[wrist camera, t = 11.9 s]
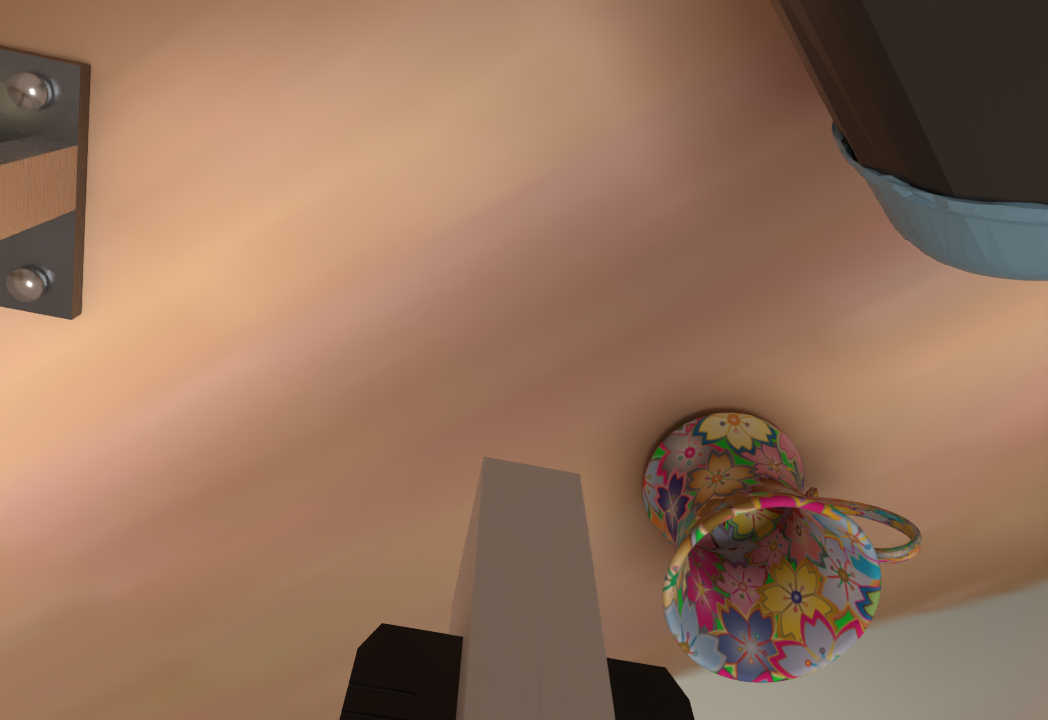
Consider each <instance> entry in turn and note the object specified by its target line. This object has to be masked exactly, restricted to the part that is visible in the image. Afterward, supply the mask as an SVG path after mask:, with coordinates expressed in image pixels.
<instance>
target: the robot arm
mask: <svg viewBox="0 0 1048 720" xmlns="http://www.w3.org/2000/svg"><path fill="white" fill-rule="evenodd" d="M770 1H771V3H772V5H773V7H774V9H775V11H776V13H777V15H778V17H779V18H780V20H781V22H782V24H783V26H784V28H785V30H786V32H787V34H788V35H789V37H790V39H791V41H792V43H793V45H794V47H795V49H796V51H797V53H798V54H799V56H800V58H801V60H802V62H803V64H804V66H805V68H806V70H807V71H808V73H809V75H810V77H811V79H812V81H813V83H814V85H815V87H816V89H817V90H818V92H819V94H820V96H821V98H822V100H823V102H824V104H825V106H826V107H827V109H828V111H829V113H830V115H831V117H832V119H833V124H832V132H833V136H834V138H835V140H836V143H837V145H838V147H839V149H840V151H841V153H842V155H843V156H844V158H845V159H846V160H847V161H848V163H849V164H850V165H852V166H853V167H854V168H855V169H856V170H857V171H858V173H859V174H860V175H861V176H863V177H864V178H865V179H866V181H867V183H868V184H869V186H870V188H871V189H872V191H873V193H874V195H875V196H876V198H877V200H878V201H879V203H880V205H881V206H882V208H883V210H884V212H885V213H886V215H887V217H888V218H889V220H890V222H891V223H892V225H893V226H894V228H895V229H896V230H897V231H898V232H899V233H900V234H901V235H902V236H903V237H904V239H906V240H908V241H910V242H911V243H912V244H913V245H914V246H916V247H917V248H918V249H919V250H921V251H922V252H923V253H924V254H925V255H927V256H930V257H932V258H933V259H935V260H936V261H938V262H940V263H943V264H945V265H948V266H951V267H954V268H957V269H960V270H963V271H966V272H970V273H974V274H978V275H983V276H989V277H995V278H1003V279H1013V280H1028V281H1048V0H770ZM339 720H694V716H693V712H692V708H691V705H690V701H689V699H688V698H687V696H686V695H685V693H684V692H683V691H682V689H681V688H680V687H679V685H678V684H677V682H676V681H675V680H674V678H673V677H672V676H671V674H670V673H669V672H668V670H667V669H666V668H665V667H659V666H653V665H647V664H641V663H635V662H629V661H623V660H617V659H611V658H606V651H605V644H604V637H603V631H602V624H601V617H600V610H599V603H598V596H597V589H596V582H595V575H594V568H593V561H592V554H591V548H590V541H589V534H588V527H587V520H586V513H585V506H584V499H583V492H582V485H581V478H580V474H576V473H571V472H565V471H560V470H554V469H549V468H543V467H538V466H532V465H527V464H521V463H516V462H510V461H505V460H500V459H494V458H489V457H484V458H483V462H482V467H481V472H480V476H479V481H478V486H477V490H476V495H475V500H474V504H473V509H472V514H471V518H470V523H469V528H468V532H467V537H466V542H465V546H464V551H463V556H462V560H461V565H460V570H459V574H458V579H457V584H456V589H455V593H454V598H453V603H452V609H451V618H450V627H449V634H444V633H438V632H432V631H426V630H420V629H414V628H408V627H402V626H396V625H390V624H384V623H382V624H381V625H380V626H379V627H378V628H377V629H376V630H375V631H374V632H373V633H372V634H371V635H370V636H369V637H368V638H367V639H366V640H365V641H364V642H363V643H362V645H361V646H360V647H359V648H358V649H357V653H356V657H355V661H354V665H353V669H352V673H351V676H350V680H349V685H348V688H347V692H346V696H345V700H344V704H343V708H342V712H341V716H340V719H339Z"/></svg>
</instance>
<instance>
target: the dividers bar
mask: <svg viewBox="0 0 1048 720" xmlns="http://www.w3.org/2000/svg"><path fill="white" fill-rule="evenodd" d="M77 150H78V145H74V144H69V143H64V142H59V141H54V140H50V139H45V138H40V137H35V136H31V137H26V138H21V139H17V140H12V141H8V142H3V143H0V240H2V239H4V238H7V237H9V236H12V235H14V234H16V233H19V232H21V231H24V230H26V229H29V228H31V227H34V226H36V225H39V224H41V223H44V222H46V221H49V220H51V219H54V218H56V217H59V216H61V215H63V214H66V213H68V212H71V211H73V210H75V209H76V180H77Z"/></svg>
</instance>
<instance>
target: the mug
mask: <svg viewBox="0 0 1048 720" xmlns="http://www.w3.org/2000/svg"><path fill="white" fill-rule="evenodd" d="M803 490H804V472H803V465H802V462H801V458H800V456H799V453H798V451H797V449H796V448H795V446H794V445H793V443H792V442H791V440H790V439H789V438H788V437H787V436H786V435H785V434H784V433H783V432H782V431H781V430H779V429H778V428H777V427H776V426H774V425H772V424H771V423H769V422H767V421H765V420H763V419H761V418H758V417H755V416H751V415H747V414H742V413H716V414H711V415H706V416H703V417H700V418H697V419H694V420H692V421H690V422H688V423H686V424H684V425H682V426H681V427H679V428H677V429H676V430H675V431H673V432H672V433H671V434H670V435H669V436H668V437H666V438H665V439H664V440H663V442H662V443H661V444H660V445H659V446H658V448H657V449H656V450H655V452H654V454H653V455H652V457H651V459H650V461H649V463H648V466H647V468H646V472H645V476H644V481H643V500H644V505H645V509H646V512H647V514H648V516H649V519H650V520H651V522H652V524H653V525H654V527H655V528H656V529H657V531H658V532H659V533H660V534H661V535H662V536H663V537H664V538H665V539H666V540H668V541H669V542H670V543H672V544H673V545H674V546H675V554H674V556H673V558H672V560H671V562H670V564H669V567H668V570H667V573H666V577H665V580H664V586H663V609H664V614H665V618H666V622H667V625H668V627H669V630H670V632H671V634H672V636H673V637H674V639H675V641H676V642H677V643H678V645H679V646H680V647H681V649H682V650H683V651H684V652H685V653H686V654H687V655H688V656H689V657H690V658H692V659H693V660H694V661H695V662H696V663H698V664H699V665H701V666H702V667H704V668H706V669H708V670H709V671H711V672H713V673H716V674H718V675H721V676H724V677H727V678H730V679H734V680H739V681H746V682H757V683H763V682H764V683H765V682H777V681H784V680H790V679H793V678H797V677H801V676H804V675H807V674H810V673H812V672H814V671H817V670H818V669H821V668H822V667H824V666H826V665H828V664H829V663H831V662H833V661H834V660H836V659H837V658H839V657H840V656H841V655H843V654H844V653H845V652H846V651H847V650H849V649H850V648H851V647H852V646H853V645H854V644H855V643H856V641H857V640H858V639H859V638H860V637H861V636H862V634H863V633H864V632H865V630H866V629H867V627H868V625H869V624H870V622H871V620H872V618H873V616H874V614H875V611H876V608H877V606H878V602H879V598H880V591H881V570H880V565H879V564H892V563H899V562H903V561H906V560H908V559H910V558H912V557H914V556H915V555H916V554H918V552H919V551H920V549H921V547H922V536H921V533H920V531H919V529H918V528H917V527H916V526H915V525H914V524H913V523H911V522H910V521H909V520H907V519H905V518H903V517H901V516H900V515H897V514H895V513H893V512H890V511H887V510H885V509H882V508H879V507H875V506H872V505H868V504H864V503H859V502H854V501H848V500H841V499H832V498H820V497H818V490H817V489H816V488H814V487H812V488H810V489H809V490H808V491H807V492H806V494H805V495H804V494H803ZM845 514H848V515H853V516H858V517H863V518H866V519H870V520H873V521H877V522H880V523H883V524H885V525H888V526H890V527H892V528H895V529H897V530H899V531H901V532H902V533H904V534H905V535H907V536H908V537H909V538H910V539H911V541H910V542H908V543H906V544H904V545H902V546H899V547H894V548H884V549H880V548H874V547H873V545H872V543H871V541H870V540H869V538H868V537H867V535H866V534H865V533H864V531H863V530H862V529H861V528H860V527H859V526H858V525H857V524H856V523H855V522H854V521H853V520H852V519H851V518H849V517H848V516H847V515H845Z"/></svg>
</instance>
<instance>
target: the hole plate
mask: <svg viewBox="0 0 1048 720" xmlns="http://www.w3.org/2000/svg"><path fill="white" fill-rule="evenodd" d="M90 66H91V65H88V64H83V63H78V62H74V61H69V60H64V59H59V58H55V57H50V56H45V55H41V54H36V53H31V52H26V51H22V50H17V49H12V48H7V47H3V46H0V143H3V142H8V141H12V140H17V139H21V138H26V137H31V136H35V137H40V138H45V139H50V140H54V141H59V142H64V143H69V144H74V145H78V150H77V180H76V209H75V210H73V211H71V212H68V213H66V214H63V215H61V216H59V217H56V218H54V219H51V220H49V221H46V222H44V223H41V224H39V225H36V226H34V227H31V228H29V229H26V230H24V231H21V232H19V233H16V234H14V235H12V236H9V237H7V238H4V239H2V240H0V306H1V307H6V308H11V309H17V310H22V311H27V312H33V313H38V314H43V315H49V316H54V317H59V318H65V319H70V320H72V319H74V318H75V317H77V316H78V315H80V314H81V306H82V279H83V253H84V226H85V199H86V172H87V146H88V119H89V92H90Z"/></svg>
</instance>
